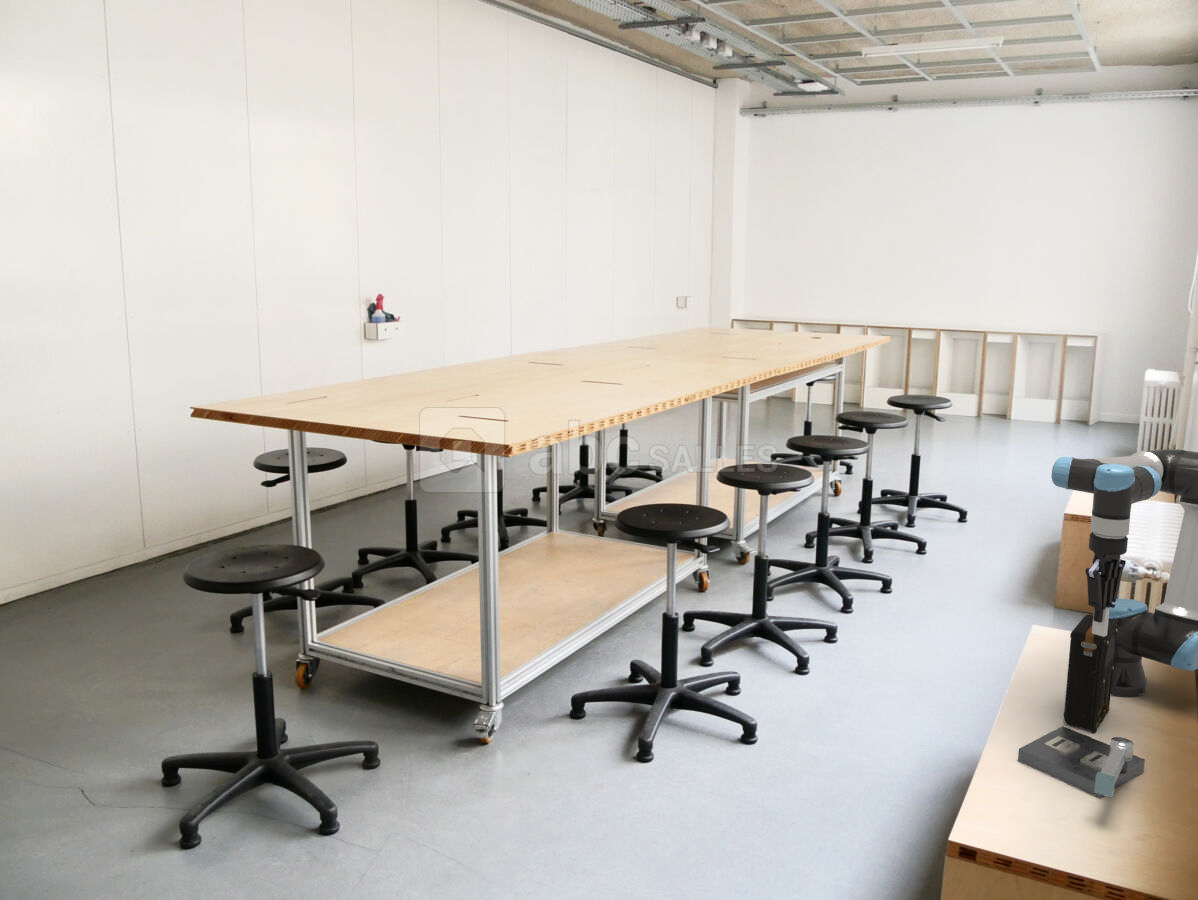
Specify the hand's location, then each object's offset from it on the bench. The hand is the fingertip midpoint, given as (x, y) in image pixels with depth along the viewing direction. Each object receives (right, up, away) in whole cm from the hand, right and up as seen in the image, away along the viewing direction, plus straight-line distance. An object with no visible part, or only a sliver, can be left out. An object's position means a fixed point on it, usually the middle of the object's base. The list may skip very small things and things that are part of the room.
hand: (1099, 634), depth 216 cm
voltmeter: (+7, -25, +20) cm, 33 cm away
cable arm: (-6, -26, -16) cm, 31 cm away
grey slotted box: (-5, -29, -2) cm, 30 cm away
